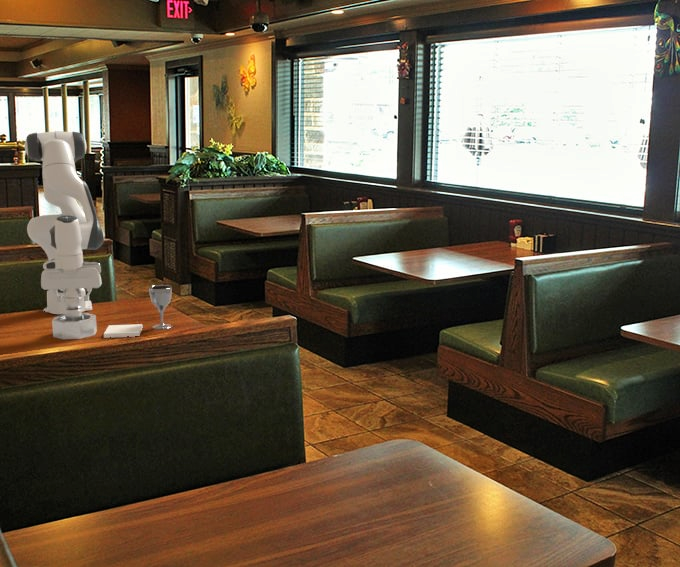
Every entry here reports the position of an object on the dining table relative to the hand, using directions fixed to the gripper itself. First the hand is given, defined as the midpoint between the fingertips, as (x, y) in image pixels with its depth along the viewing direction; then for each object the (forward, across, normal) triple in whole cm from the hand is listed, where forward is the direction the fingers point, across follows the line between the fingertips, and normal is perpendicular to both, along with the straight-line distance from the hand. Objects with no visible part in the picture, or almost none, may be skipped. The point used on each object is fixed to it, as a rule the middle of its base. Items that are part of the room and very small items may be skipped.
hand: (73, 300), depth 280 cm
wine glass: (+12, -30, -6) cm, 33 cm away
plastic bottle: (+12, 0, 0) cm, 12 cm away
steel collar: (+12, 0, 0) cm, 12 cm away
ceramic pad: (+12, -17, +1) cm, 21 cm away
